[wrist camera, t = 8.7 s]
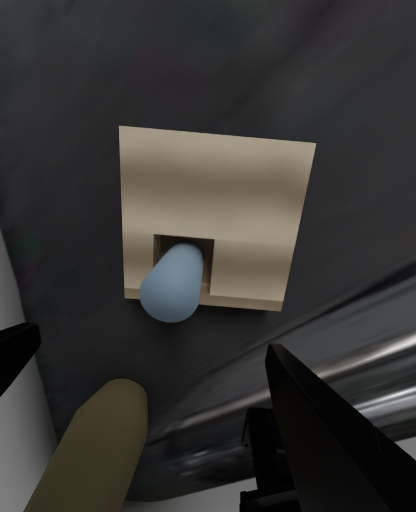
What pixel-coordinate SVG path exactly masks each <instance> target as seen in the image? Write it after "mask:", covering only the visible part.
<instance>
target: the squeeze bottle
mask: <svg viewBox="0 0 416 512" xmlns="http://www.w3.org/2000/svg"><path fill="white" fill-rule="evenodd" d="M147 436H148V395H147V393H146V392H145V390H144V388H143V387H142V386H140V385H139V384H138V383H136V382H134V381H131V380H129V379H115V380H111V381H109V382H108V383H106V384H105V385H104V386H103V387H102V388H101V389H100V390H98V391H97V392H96V393H95V394H94V395H93V396H92V397H91V398H90V399H89V400H88V401H87V402H85V403H84V404H83V405H82V406H81V407H80V408H79V409H78V410H77V411H76V413H75V415H74V417H73V419H72V421H71V423H70V425H69V426H68V428H67V430H66V432H65V434H64V436H63V438H62V440H61V442H60V443H59V445H58V447H57V449H56V451H55V453H54V455H53V457H52V459H51V460H50V462H49V464H48V466H47V468H46V470H45V472H44V474H43V476H42V478H41V479H40V481H39V483H38V485H37V487H36V489H35V491H34V493H33V494H32V496H31V499H30V500H29V502H28V504H27V506H26V508H25V510H24V511H23V512H120V510H121V508H122V505H123V502H124V500H125V497H126V494H127V491H128V489H129V486H130V483H131V480H132V478H133V475H134V472H135V469H136V467H137V464H138V461H139V458H140V456H141V453H142V450H143V447H144V445H145V442H146V439H147Z"/></svg>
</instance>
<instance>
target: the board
mask: <svg viewBox="0 0 416 512" xmlns="http://www.w3.org/2000/svg"><path fill="white" fill-rule="evenodd" d="M119 139H120V168H121V198H122V227H123V257H124V286H125V298H132V299H140V297H139V290H140V286H141V283H142V281H143V280H144V278H145V277H146V276H147V275H148V273H149V272H150V271H151V270H152V269H153V268H154V267H155V265H156V264H157V263H158V262H159V261H160V260H161V258H162V257H163V256H164V255H165V254H166V253H167V251H168V250H169V249H170V248H171V247H172V246H173V245H174V244H175V243H176V242H178V241H180V240H192V241H194V242H196V243H197V244H199V245H200V246H201V248H202V249H203V251H204V255H205V260H204V268H203V275H202V283H201V290H200V297H199V303H198V304H202V305H213V306H225V307H237V308H248V309H260V310H271V311H281V309H282V304H283V299H284V295H285V290H286V285H287V280H288V275H289V271H290V266H291V261H292V256H293V252H294V247H295V242H296V237H297V233H298V228H299V223H300V218H301V213H302V209H303V204H304V199H305V194H306V190H307V185H308V180H309V175H310V170H311V166H312V161H313V156H314V151H315V147H316V143H306V142H295V141H284V140H273V139H261V138H250V137H239V136H227V135H216V134H205V133H194V132H182V131H171V130H160V129H149V128H137V127H126V126H119Z"/></svg>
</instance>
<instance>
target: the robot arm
mask: <svg viewBox="0 0 416 512" xmlns="http://www.w3.org/2000/svg"><path fill="white" fill-rule="evenodd" d="M40 344H41V337H40V331H39V326H38V325H37V324H36V323H27V322H26V323H21V324H18V325H15V326H12V327H10V328H6V329H4V330H1V331H0V397H1V396H2V394H3V393H4V392H5V391H6V390H7V389H8V387H9V386H10V385H11V384H12V382H13V381H14V379H16V377H17V376H18V374H19V373H20V372H21V371H22V369H23V368H24V367H25V365H26V364H27V363H28V362H29V360H30V359H31V358H32V356H33V355H34V354H35V352H36V351H37V350H38V348H39V347H40ZM265 367H266V372H267V378H268V384H269V389H270V395H271V400H272V405H273V409H262V408H250V409H249V410H248V414H247V420H246V425H245V430H244V436H243V441H242V442H243V447H245V448H251V451H252V457H253V464H254V470H255V477H256V483H257V490H252V491H248V492H246V491H243V492H240V512H416V460H415V459H413V458H412V457H411V456H410V455H409V454H408V453H406V452H405V451H404V450H403V449H401V448H400V447H399V446H398V445H397V444H396V443H394V442H393V441H392V440H391V439H390V438H389V437H387V436H386V435H385V434H384V433H383V432H382V431H381V430H379V429H378V428H377V427H375V426H373V424H372V423H371V422H370V421H369V420H368V419H367V418H365V417H364V416H363V415H362V414H361V413H360V412H358V411H357V410H356V409H355V408H354V407H353V406H352V405H350V404H349V403H348V402H347V401H346V400H345V399H343V398H342V397H341V396H340V395H339V394H338V393H336V392H335V391H334V390H333V389H332V388H331V387H330V386H328V385H327V384H326V383H325V382H324V381H323V380H321V379H320V378H319V377H318V376H317V375H316V374H315V373H313V372H312V371H311V370H310V369H309V368H308V367H306V366H305V365H304V364H303V363H302V362H301V361H300V360H298V359H297V358H296V357H295V356H294V355H293V354H291V353H290V352H289V351H288V350H287V349H286V348H285V347H283V346H282V345H281V344H278V343H270V344H269V345H268V349H267V354H266V359H265Z"/></svg>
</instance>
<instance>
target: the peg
mask: <svg viewBox="0 0 416 512" xmlns="http://www.w3.org/2000/svg"><path fill="white" fill-rule="evenodd" d="M204 260H205V255H204V251H203V249H202V248H201V246H200V245H199V244H197V243H196V242H194V241H192V240H180V241H178V242H176V243H175V244H174V245H173V246H172V247H171V248H170V249H169V250H168V251H167V253H166V254H165V255H164V256H163V257H162V258H161V260H160V261H159V262H158V263H157V264H156V265H155V267H154V268H153V269H152V270H151V271H150V272H149V273H148V275H147V276H146V277H145V278H144V280H143V281H142V283H141V286H140V290H139V297H140V301H141V304H142V306H143V308H144V309H145V310H146V312H147V313H148V314H149V315H151V316H152V317H154V318H155V319H157V320H160V321H163V322H171V323H172V322H179V321H182V320H185V319H187V318H188V317H190V316H191V315H192V314H193V313H194V312H195V310H196V308H197V306H198V303H199V297H200V290H201V283H202V275H203V268H204Z"/></svg>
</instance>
